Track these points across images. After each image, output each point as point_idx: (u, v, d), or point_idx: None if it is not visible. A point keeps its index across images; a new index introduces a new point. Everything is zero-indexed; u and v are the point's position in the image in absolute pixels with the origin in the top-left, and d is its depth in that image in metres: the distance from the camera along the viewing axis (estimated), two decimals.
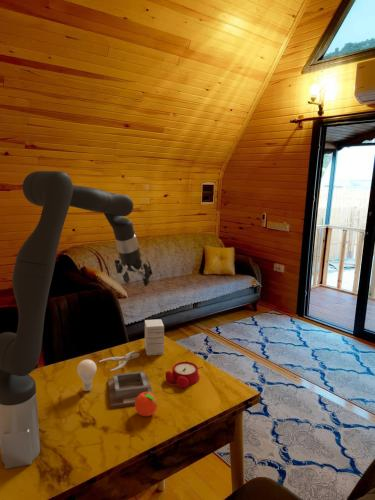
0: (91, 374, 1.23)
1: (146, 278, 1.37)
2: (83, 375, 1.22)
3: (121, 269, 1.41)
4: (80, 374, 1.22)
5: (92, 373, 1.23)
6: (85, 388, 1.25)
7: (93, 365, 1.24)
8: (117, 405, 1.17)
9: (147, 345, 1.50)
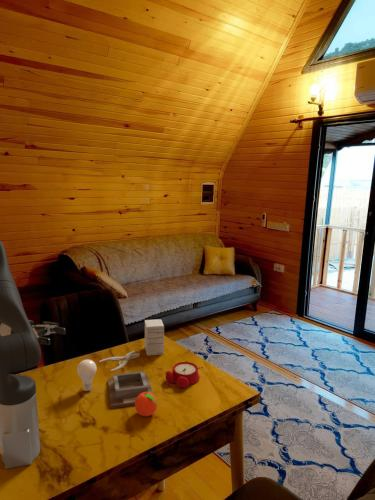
0: (91, 374, 1.23)
1: (57, 326, 1.31)
2: (83, 375, 1.22)
3: None
4: (80, 374, 1.22)
5: (92, 373, 1.23)
6: (85, 388, 1.25)
7: (93, 365, 1.24)
8: (117, 405, 1.17)
9: (147, 345, 1.50)
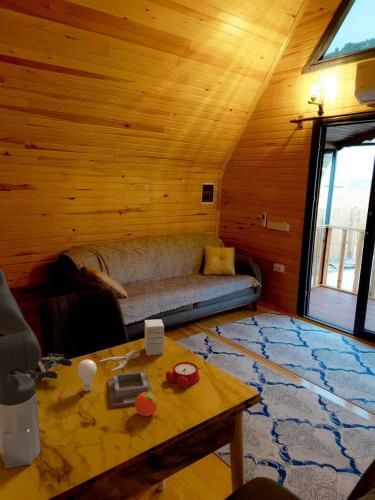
0: (91, 374, 1.23)
1: (63, 358, 1.33)
2: (83, 375, 1.22)
3: None
4: (80, 374, 1.22)
5: (92, 373, 1.23)
6: (85, 388, 1.25)
7: (93, 365, 1.24)
8: (117, 405, 1.17)
9: (147, 345, 1.50)
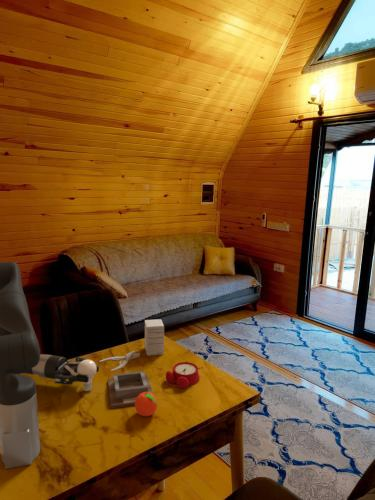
0: (91, 374, 1.23)
1: None
2: None
3: None
4: None
5: (92, 373, 1.23)
6: (85, 388, 1.25)
7: (93, 365, 1.24)
8: (117, 405, 1.17)
9: (147, 345, 1.50)
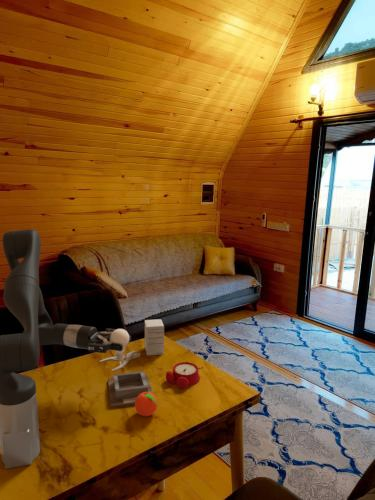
0: (125, 343, 1.21)
1: None
2: None
3: None
4: None
5: (126, 342, 1.21)
6: (118, 358, 1.23)
7: (126, 334, 1.22)
8: (117, 405, 1.17)
9: (147, 345, 1.50)
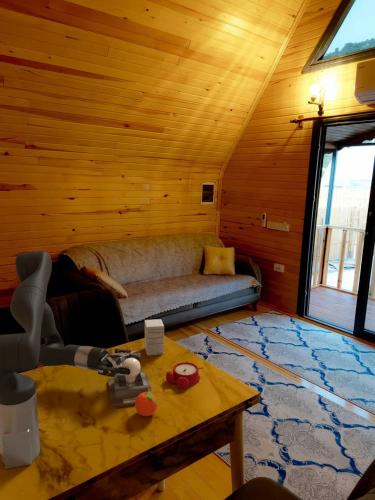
0: (136, 373, 1.22)
1: (131, 354, 1.30)
2: None
3: None
4: None
5: (137, 372, 1.22)
6: (128, 386, 1.25)
7: (138, 364, 1.23)
8: (117, 405, 1.17)
9: (147, 345, 1.50)
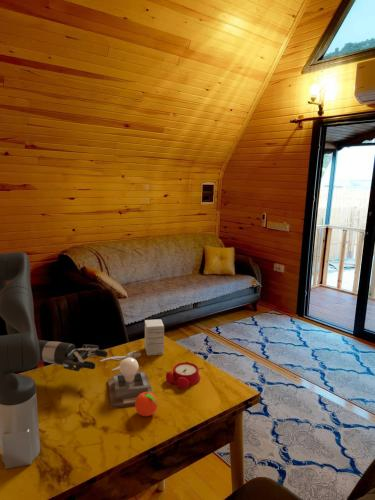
0: (134, 372, 1.22)
1: (98, 349, 1.33)
2: (126, 373, 1.22)
3: None
4: (123, 372, 1.22)
5: (135, 371, 1.23)
6: (128, 386, 1.25)
7: (136, 363, 1.23)
8: (117, 405, 1.17)
9: (147, 345, 1.50)
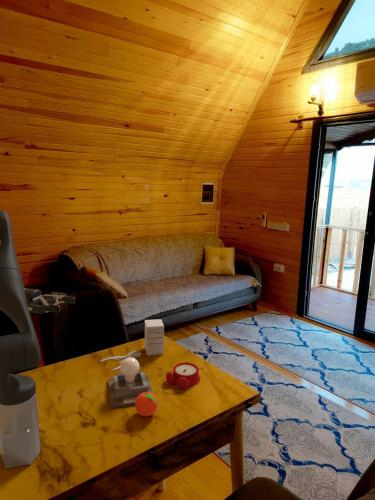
0: (135, 372, 1.22)
1: None
2: (127, 373, 1.22)
3: None
4: (124, 372, 1.22)
5: (136, 371, 1.23)
6: (128, 386, 1.25)
7: (137, 363, 1.24)
8: (117, 405, 1.17)
9: (147, 345, 1.50)
